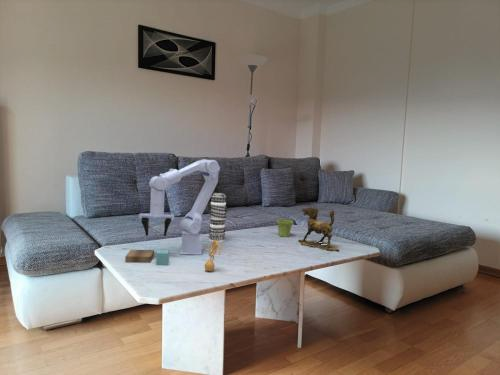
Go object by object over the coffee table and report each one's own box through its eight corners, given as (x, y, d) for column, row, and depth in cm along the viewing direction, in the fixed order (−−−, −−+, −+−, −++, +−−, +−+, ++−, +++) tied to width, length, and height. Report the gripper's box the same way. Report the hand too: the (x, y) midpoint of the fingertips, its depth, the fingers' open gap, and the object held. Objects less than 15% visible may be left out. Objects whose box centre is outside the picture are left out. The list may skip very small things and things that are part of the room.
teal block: (168, 262, 151) (168, 250, 150) (167, 265, 146) (167, 253, 146) (157, 262, 150) (157, 250, 150) (156, 265, 146) (156, 253, 145)
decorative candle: (204, 239, 191) (206, 192, 188) (217, 237, 198) (219, 192, 195) (216, 243, 185) (218, 194, 182) (229, 240, 192) (231, 193, 189)
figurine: (307, 239, 203) (310, 203, 201) (345, 249, 184) (348, 210, 182) (292, 242, 194) (294, 205, 192) (330, 253, 176) (333, 212, 174)
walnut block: (154, 256, 158) (154, 250, 158) (150, 263, 149) (150, 256, 148) (130, 256, 157) (130, 249, 157) (125, 263, 147) (125, 256, 147)
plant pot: (294, 237, 205) (295, 222, 204) (278, 237, 203) (279, 222, 202) (289, 234, 214) (290, 219, 213) (273, 234, 212) (274, 219, 211)
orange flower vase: (198, 269, 143) (199, 239, 142) (210, 266, 147) (211, 237, 146) (212, 274, 137) (213, 244, 136) (224, 271, 142) (225, 241, 140)
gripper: (138, 204, 150) (136, 237, 151) (173, 206, 151) (171, 238, 152) (141, 202, 157) (140, 233, 158) (175, 204, 158) (173, 234, 159)
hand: (156, 235), depth 156 cm, fingers open, 7 cm apart
